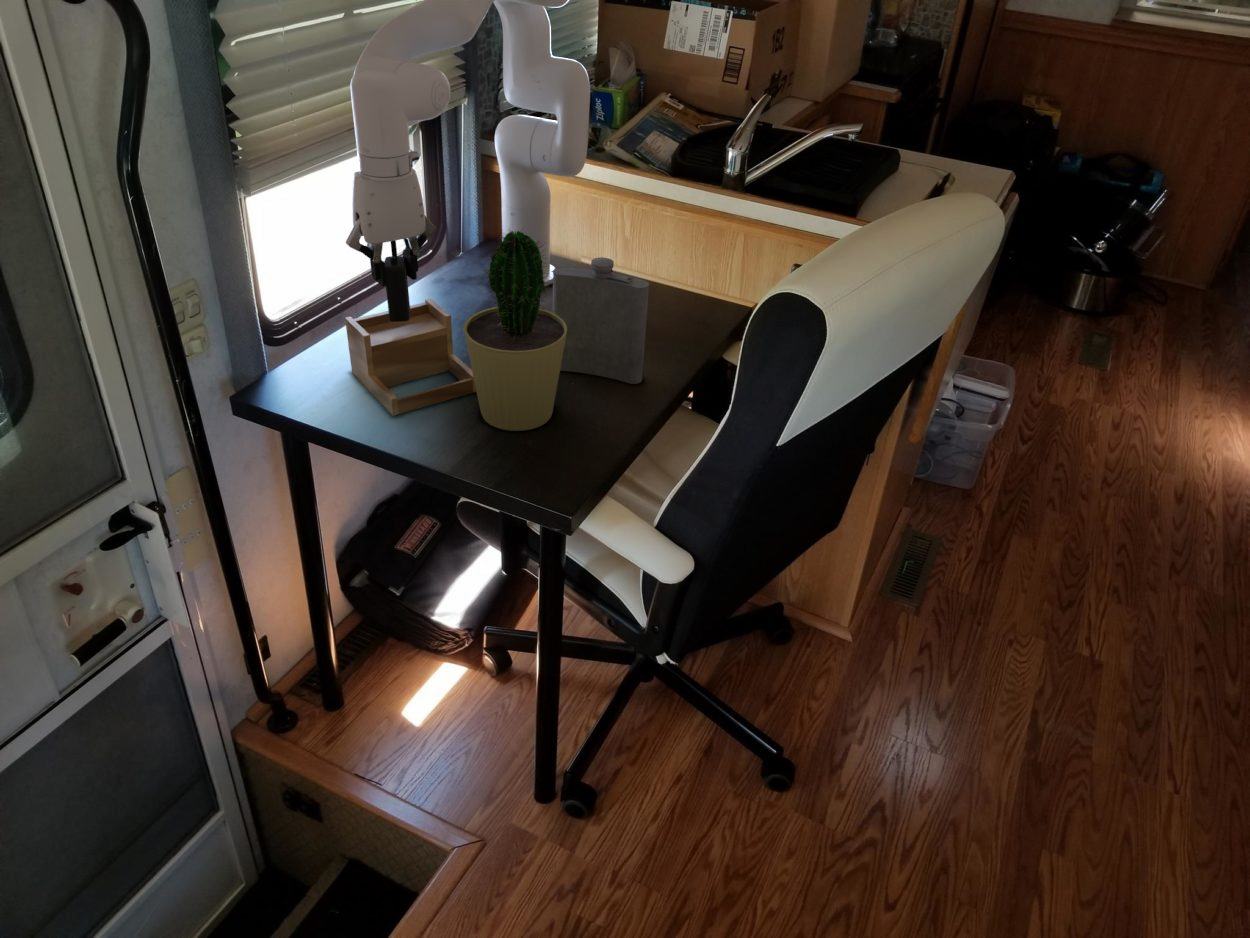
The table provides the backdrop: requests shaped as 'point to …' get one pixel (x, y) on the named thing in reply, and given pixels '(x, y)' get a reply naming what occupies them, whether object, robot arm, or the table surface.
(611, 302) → the hip flask
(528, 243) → the potted cactus
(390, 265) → the walkie-talkie
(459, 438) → the table surface
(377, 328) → the step shelf
